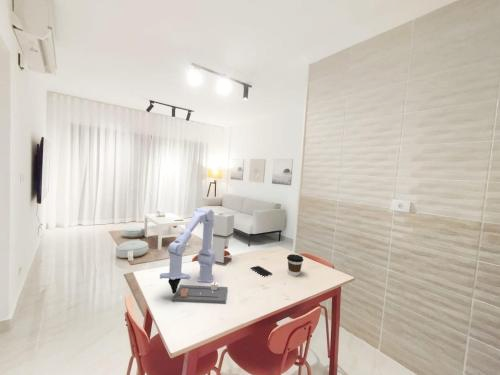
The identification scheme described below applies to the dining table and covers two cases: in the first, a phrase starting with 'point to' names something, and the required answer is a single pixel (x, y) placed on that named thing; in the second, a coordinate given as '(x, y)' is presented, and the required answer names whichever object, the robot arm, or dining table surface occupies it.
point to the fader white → (214, 285)
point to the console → (201, 294)
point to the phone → (261, 271)
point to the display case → (222, 237)
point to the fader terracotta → (184, 292)
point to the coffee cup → (294, 264)
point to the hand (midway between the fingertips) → (174, 292)
